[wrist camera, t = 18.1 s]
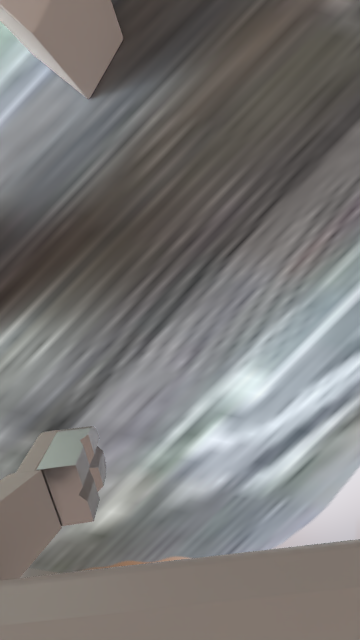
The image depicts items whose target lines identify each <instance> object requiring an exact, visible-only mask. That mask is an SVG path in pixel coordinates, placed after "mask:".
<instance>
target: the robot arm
mask: <svg viewBox="0 0 360 640" xmlns="http://www.w3.org/2000/svg"><path fill="white" fill-rule="evenodd" d="M99 439H100V438H99V435H98V432H97V429H96V428H95V427H94V426H90V427H81V428H72V429H64V430H55V431H48V432H43V433H41V434H40V435H39V436H38V438H37V439H36V441H35V443H34V444H33V446H32V447H31V449H30V451H29V452H28V454H27V455H26V457H25V459H24V460H23V462H22V463H21V465H20V467H19V468H18V470H17V471H16V473H14V474H9V475H8V476H6V477H5V478H3V479H2V480H1V481H0V640H360V539H359V540H349V541H341V542H332V543H323V544H314V545H305V546H297V547H288V548H279V549H270V550H262V551H253V552H244V553H235V554H227V555H218V556H209V557H201V558H192V559H183V560H174V561H166V562H157V563H148V564H139V565H131V566H122V567H113V568H104V569H95V570H86V571H77V572H69V573H60V574H51V575H43V576H33V577H25V578H20V577H21V576H22V574H23V573H24V572H25V571H26V570H27V569H28V567H29V566H30V565H31V564H32V563H33V561H34V560H35V559H36V558H37V557H38V556H39V554H40V553H41V552H42V551H43V550H44V548H45V547H46V546H47V545H48V544H49V542H50V541H51V540H52V539H53V538H54V537H55V535H56V534H57V533H58V532H59V531H60V529H61V528H62V527H61V526H66V525H72V524H79V523H85V522H92V521H94V518H95V515H96V511H97V508H98V504H99V500H100V499H99V495H98V491H99V490H100V489H101V488H102V487H103V486H104V482H105V478H106V461H105V456H104V452H103V450H101V449H100V448H99V447H98V446H97V445H98V442H99Z"/></svg>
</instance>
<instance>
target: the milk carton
mask: <svg viewBox="0 0 360 640" xmlns="http://www.w3.org/2000/svg"><path fill="white" fill-rule="evenodd" d="M0 21H1V22H2V23H3V24H4V25H5V26H6V27H7V28H8V29H9V30H10V31H11V32H12V33H13V34H14V36H15V37H16V38H17V39H18V40H19V41H20V42H21V43H22V44H23V45H24V46H25V47H26V48H27V49H28V50H29V51H30V52H31V53H32V54H33V55H34V56H35V57H36V58H38V59H39V60H40V61H41V62H43V63H44V64H45V65H46V66H47V67H49V68H50V69H51V70H52V71H54V72H55V73H56V74H57V75H59V76H60V77H61V78H62V79H64V80H65V81H66V82H67V83H68V84H70V85H71V86H72V87H73V88H75V89H76V90H77V91H78V92H80V93H81V94H82V95H83V96H85V97H86V98H87V99H90V97H91V95H92V94H93V92H94V90H95V89H96V87H97V85H98V83H99V81H100V80H101V78H102V76H103V74H104V73H105V71H106V69H107V67H108V66H109V64H110V62H111V60H112V59H113V57H114V55H115V53H116V51H117V50H118V48H119V46H120V44H121V43H122V41H123V35H122V32H121V29H120V26H119V23H118V20H117V17H116V14H115V11H114V8H113V5H112V2H111V0H0Z"/></svg>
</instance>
